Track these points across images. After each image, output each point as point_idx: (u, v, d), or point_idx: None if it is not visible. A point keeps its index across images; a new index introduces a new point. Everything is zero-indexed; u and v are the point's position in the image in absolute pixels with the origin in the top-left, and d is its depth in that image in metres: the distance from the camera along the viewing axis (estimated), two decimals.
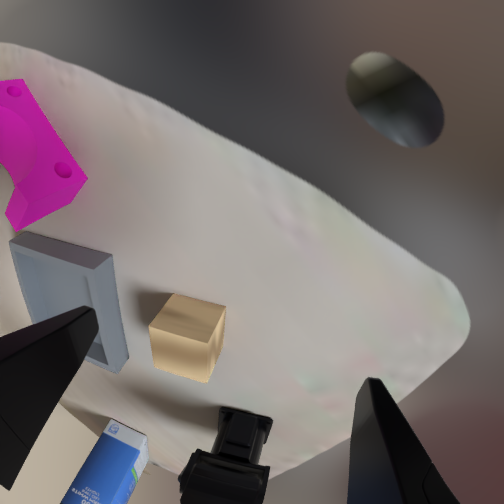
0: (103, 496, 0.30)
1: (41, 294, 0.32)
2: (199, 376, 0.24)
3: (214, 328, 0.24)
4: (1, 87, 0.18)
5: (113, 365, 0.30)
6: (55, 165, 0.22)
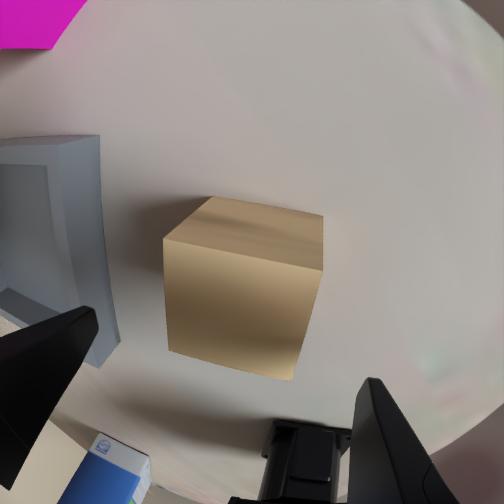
0: None
1: None
2: (277, 365, 0.11)
3: (321, 245, 0.10)
4: None
5: (91, 353, 0.17)
6: None
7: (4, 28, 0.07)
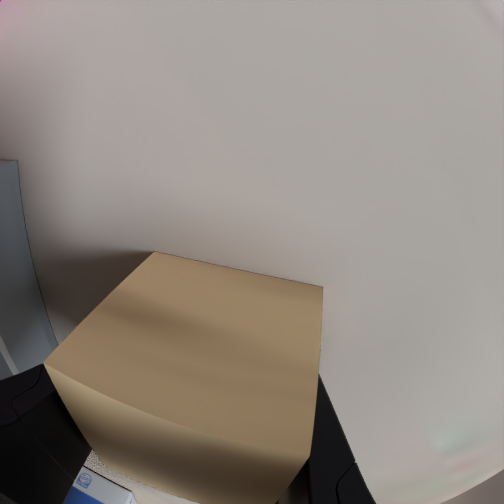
0: None
1: None
2: None
3: (315, 373, 0.05)
4: None
5: None
6: None
7: None
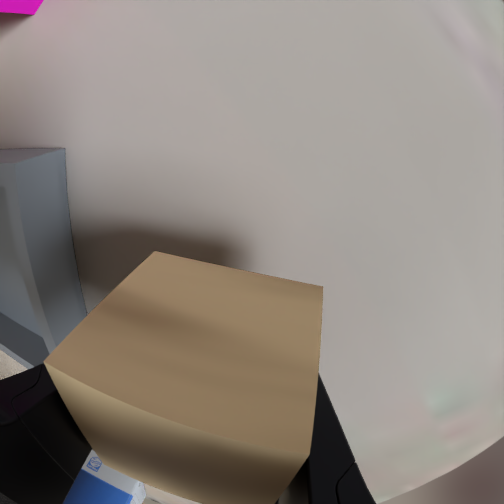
0: None
1: None
2: None
3: (315, 372, 0.05)
4: None
5: None
6: None
7: None
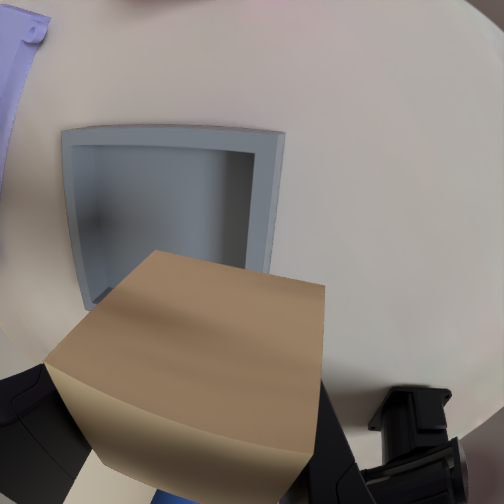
0: None
1: (100, 236, 0.22)
2: None
3: (318, 371, 0.05)
4: None
5: None
6: None
7: None
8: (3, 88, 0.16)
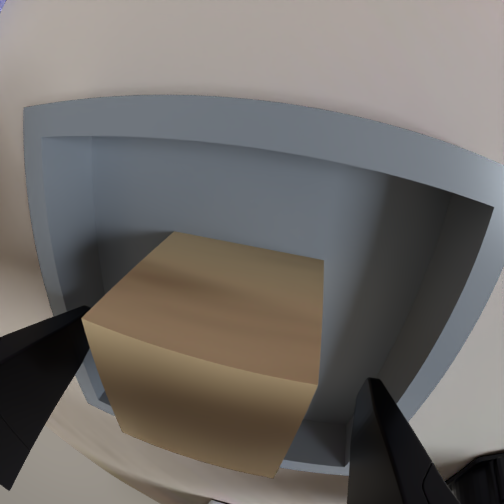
0: None
1: None
2: (255, 466, 0.07)
3: (319, 323, 0.07)
4: None
5: None
6: None
7: None
8: None
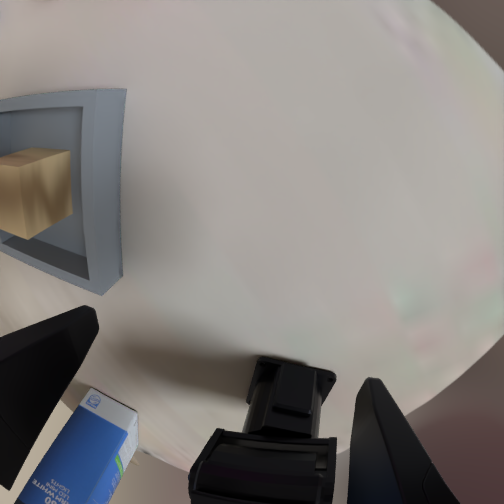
0: (74, 493, 0.20)
1: None
2: (20, 227, 0.16)
3: (38, 160, 0.16)
4: None
5: (97, 278, 0.20)
6: None
7: None
8: None
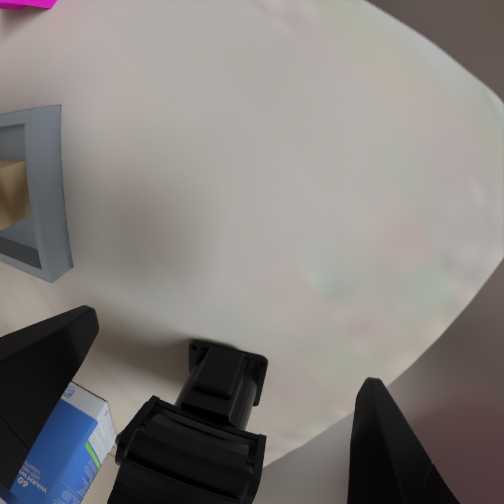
0: (44, 475, 0.21)
1: None
2: None
3: None
4: None
5: (47, 267, 0.21)
6: None
7: None
8: None
